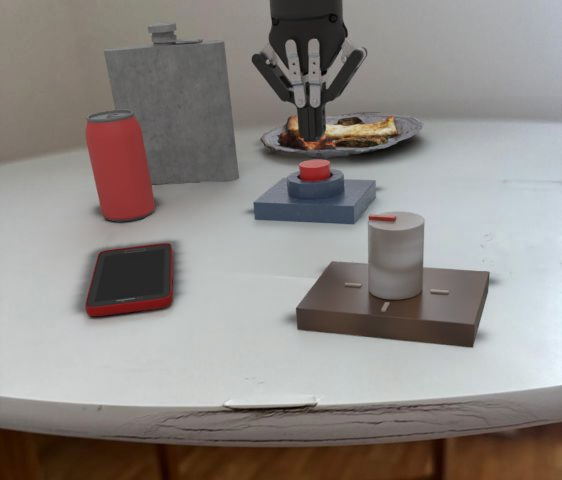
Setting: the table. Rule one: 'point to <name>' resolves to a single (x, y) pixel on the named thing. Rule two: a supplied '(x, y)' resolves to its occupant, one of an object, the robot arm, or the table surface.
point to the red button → (314, 170)
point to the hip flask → (178, 105)
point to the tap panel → (396, 306)
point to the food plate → (345, 134)
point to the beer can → (119, 165)
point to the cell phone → (131, 280)
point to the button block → (316, 200)
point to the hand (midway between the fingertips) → (313, 140)
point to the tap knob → (395, 254)
